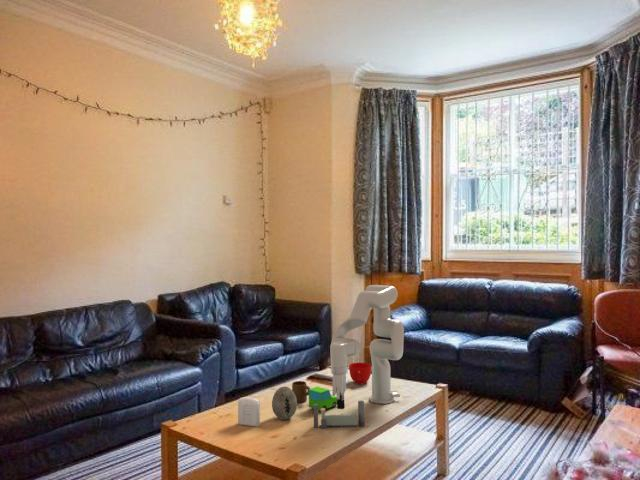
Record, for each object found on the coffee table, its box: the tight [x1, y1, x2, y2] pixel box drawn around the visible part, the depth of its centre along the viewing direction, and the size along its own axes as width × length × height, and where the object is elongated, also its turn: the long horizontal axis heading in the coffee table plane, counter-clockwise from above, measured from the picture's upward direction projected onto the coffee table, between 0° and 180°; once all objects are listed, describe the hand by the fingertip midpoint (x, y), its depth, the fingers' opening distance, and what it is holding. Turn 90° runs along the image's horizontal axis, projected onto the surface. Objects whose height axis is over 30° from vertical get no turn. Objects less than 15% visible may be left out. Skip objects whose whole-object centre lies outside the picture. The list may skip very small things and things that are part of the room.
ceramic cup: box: [348, 362, 372, 385], centre depth 288 cm, size 13×17×10 cm
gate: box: [320, 408, 357, 425], centre depth 224 cm, size 16×2×7 cm, turn 90°
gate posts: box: [312, 400, 366, 430], centre depth 223 cm, size 23×4×11 cm, turn 91°
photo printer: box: [237, 396, 261, 427], centre depth 227 cm, size 10×4×12 cm, turn 72°
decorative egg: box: [271, 386, 298, 420], centre depth 234 cm, size 12×12×15 cm
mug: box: [291, 380, 311, 404], centre depth 257 cm, size 12×8×9 cm, turn 44°
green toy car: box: [308, 386, 337, 412], centre depth 248 cm, size 10×13×10 cm
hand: (340, 408), depth 230 cm, fingers closed
